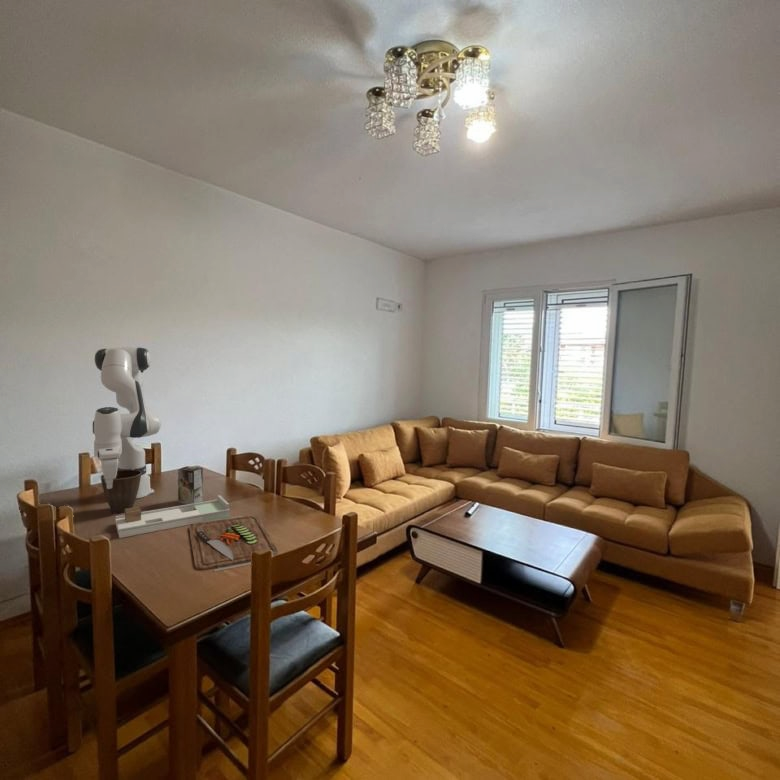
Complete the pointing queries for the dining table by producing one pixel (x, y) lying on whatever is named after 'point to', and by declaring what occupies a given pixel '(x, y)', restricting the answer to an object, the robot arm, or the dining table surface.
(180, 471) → the coffee box
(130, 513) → the block
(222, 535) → the chopping board
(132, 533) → the tray
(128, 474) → the plant pot
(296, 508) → the dining table surface
